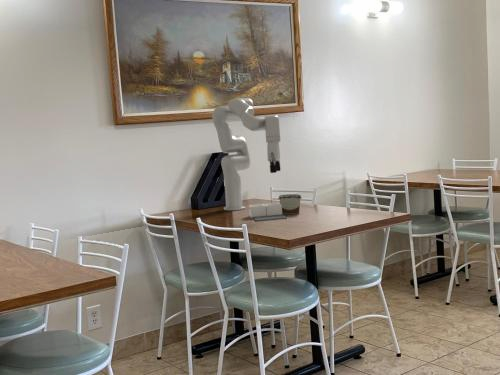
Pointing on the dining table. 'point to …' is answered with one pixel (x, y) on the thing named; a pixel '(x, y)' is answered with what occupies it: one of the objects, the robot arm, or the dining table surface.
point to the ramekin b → (273, 209)
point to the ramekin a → (257, 210)
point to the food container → (290, 203)
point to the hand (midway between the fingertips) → (275, 171)
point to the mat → (269, 217)
